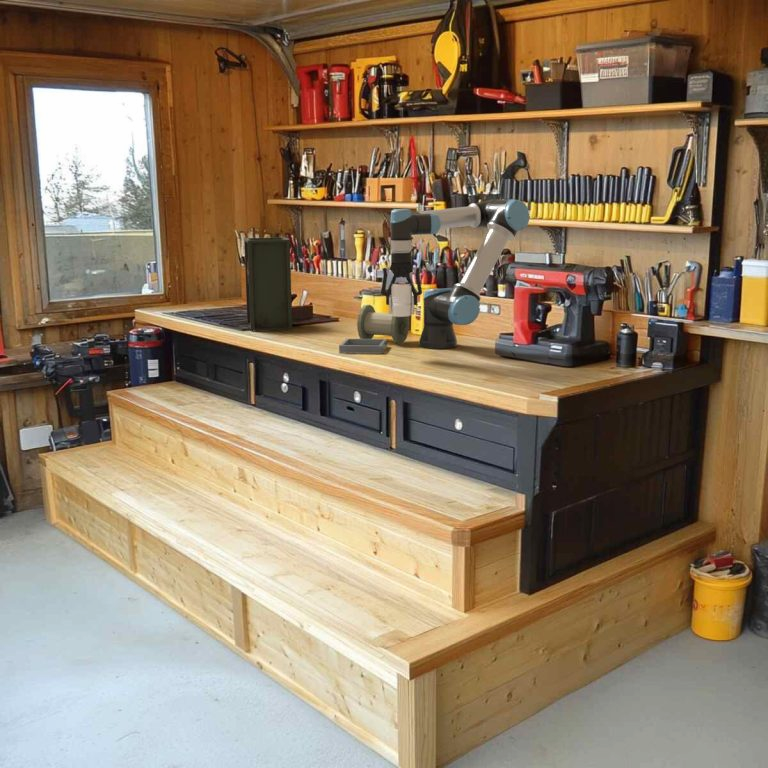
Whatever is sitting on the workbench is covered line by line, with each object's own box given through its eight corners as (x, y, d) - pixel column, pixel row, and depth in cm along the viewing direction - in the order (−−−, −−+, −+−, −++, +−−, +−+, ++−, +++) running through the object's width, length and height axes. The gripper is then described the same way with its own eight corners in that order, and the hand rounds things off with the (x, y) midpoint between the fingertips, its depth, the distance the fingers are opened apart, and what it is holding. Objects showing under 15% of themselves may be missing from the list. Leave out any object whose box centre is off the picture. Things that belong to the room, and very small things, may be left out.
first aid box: (292, 329, 409) (289, 239, 400) (250, 331, 404) (247, 240, 396) (287, 323, 426) (284, 237, 418) (247, 325, 422) (244, 238, 413)
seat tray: (386, 346, 364) (386, 339, 364) (381, 353, 348) (381, 346, 348) (346, 345, 366) (346, 338, 366) (339, 353, 350) (339, 345, 350)
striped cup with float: (392, 317, 333) (391, 284, 331) (385, 314, 341) (385, 282, 339) (418, 316, 336) (417, 283, 333) (411, 313, 344) (411, 281, 341)
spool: (409, 340, 378) (409, 304, 375) (394, 346, 365) (394, 309, 362) (373, 338, 385) (373, 302, 382) (357, 343, 372) (357, 307, 369)
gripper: (430, 251, 336) (430, 312, 341) (374, 251, 338) (375, 312, 343) (428, 252, 328) (428, 315, 333) (372, 252, 331) (373, 314, 336)
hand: (401, 313), depth 338 cm, fingers closed on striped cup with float, 8 cm apart
